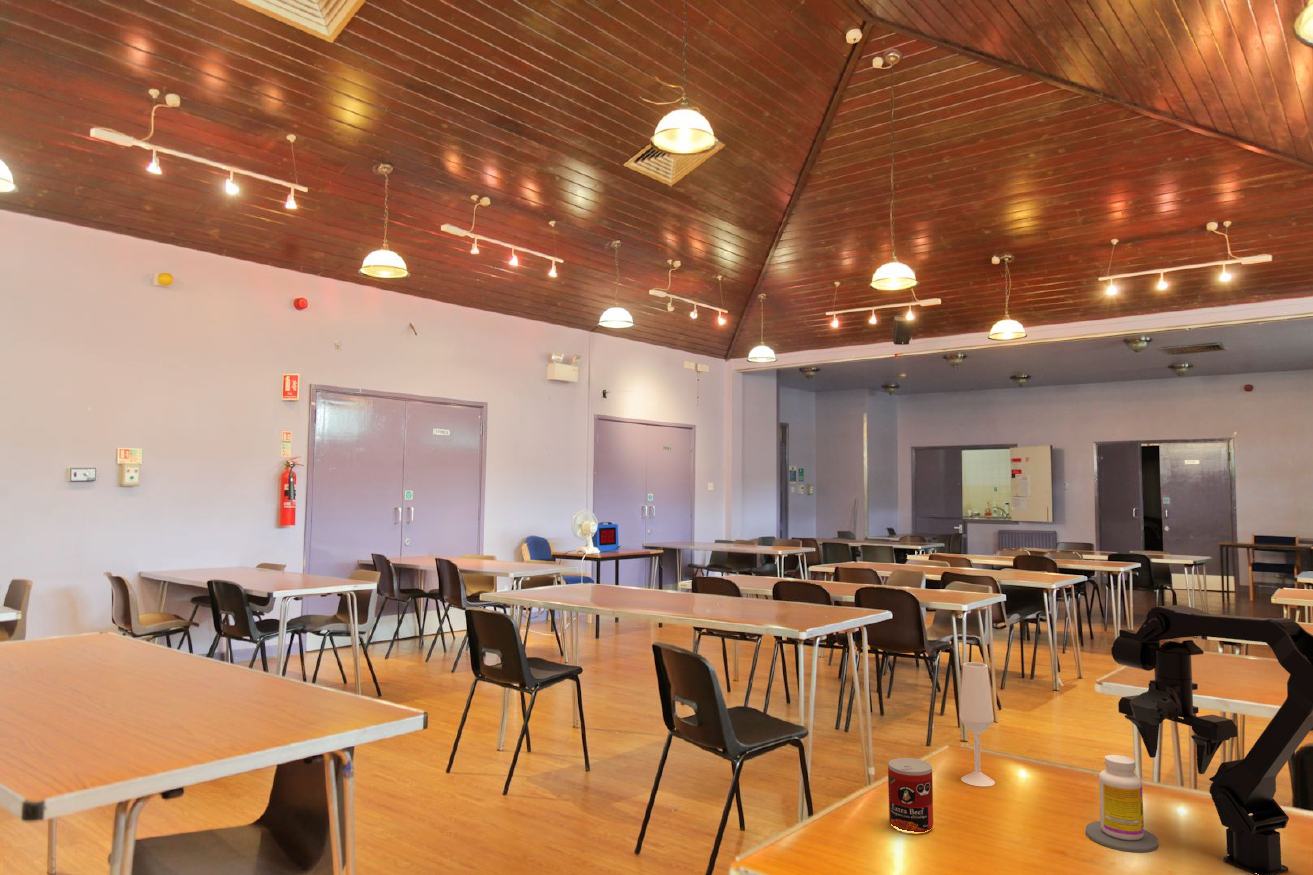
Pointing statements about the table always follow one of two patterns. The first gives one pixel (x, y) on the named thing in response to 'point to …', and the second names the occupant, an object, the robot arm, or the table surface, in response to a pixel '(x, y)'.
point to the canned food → (910, 794)
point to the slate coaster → (1121, 840)
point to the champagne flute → (976, 714)
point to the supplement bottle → (1121, 799)
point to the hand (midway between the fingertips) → (1176, 765)
